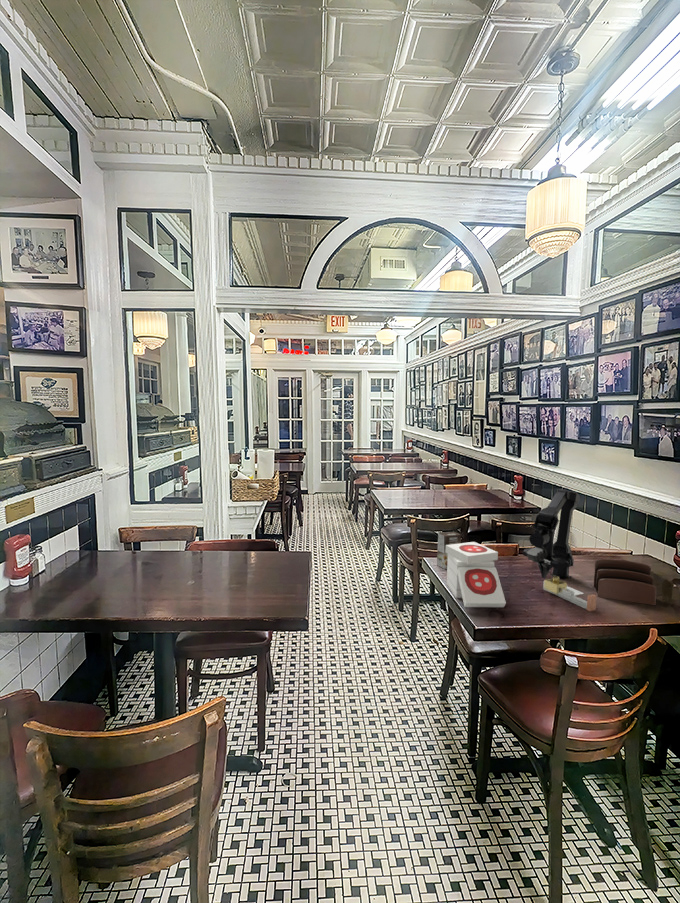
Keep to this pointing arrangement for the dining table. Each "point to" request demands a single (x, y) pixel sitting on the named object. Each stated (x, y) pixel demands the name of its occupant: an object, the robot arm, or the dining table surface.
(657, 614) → the dining table surface
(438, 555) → the coffee box
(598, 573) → the letter holder
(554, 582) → the clip saddle
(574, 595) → the pad
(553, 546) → the robot arm
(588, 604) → the flange rail
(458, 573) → the pizza boxes
